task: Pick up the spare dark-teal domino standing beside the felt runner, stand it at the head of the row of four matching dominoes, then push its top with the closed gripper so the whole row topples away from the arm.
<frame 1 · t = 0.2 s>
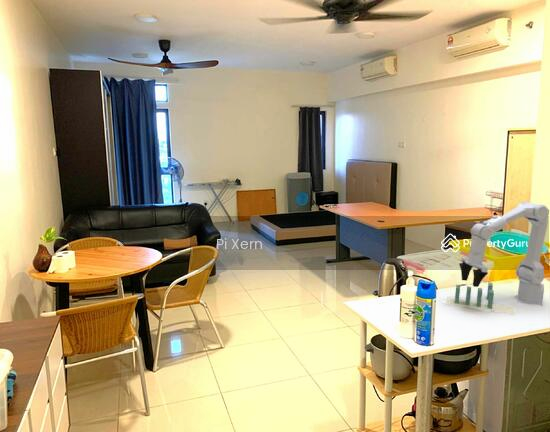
hand: (469, 283, 176), 10 cm above the table, tool pointing down, fingers open, 7 cm apart
tile 1: (489, 298, 186), on the table
tile 4: (467, 303, 180), resting on felt runner
felt runner: (479, 305, 179), on the table
tile 3: (478, 305, 179), resting on felt runner
tile 5: (456, 301, 182), resting on felt runner
tile 2: (489, 306, 177), resting on felt runner
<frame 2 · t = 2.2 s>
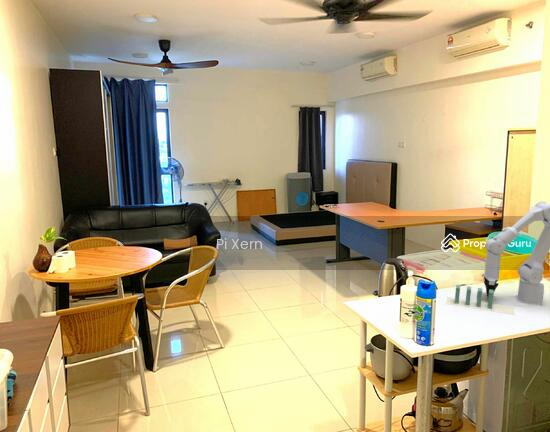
hand: (489, 295, 186), 2 cm above the table, tool pointing down, fingers closed on tile 1, 4 cm apart
tile 1: (489, 298, 186), on the table, touching gripper
everything else where it was.
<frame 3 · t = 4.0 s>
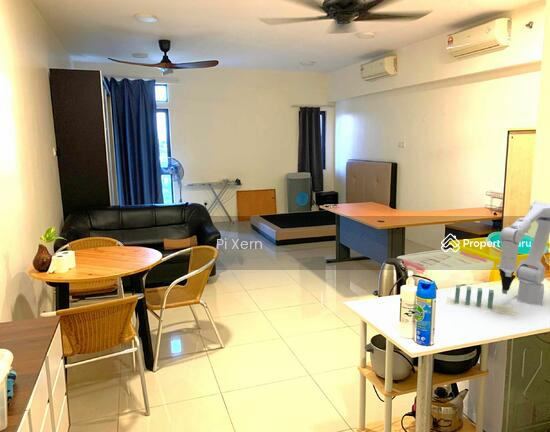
hand: (505, 288, 173), 9 cm above the table, tool pointing down, fingers closed on tile 1, 4 cm apart
tile 1: (504, 292, 173), point 8 cm above the table, touching gripper
everything else where it was.
when the fingers open (2 cm above the table, at t = 5.8 s): tile 1 stays where it is, resting on felt runner.
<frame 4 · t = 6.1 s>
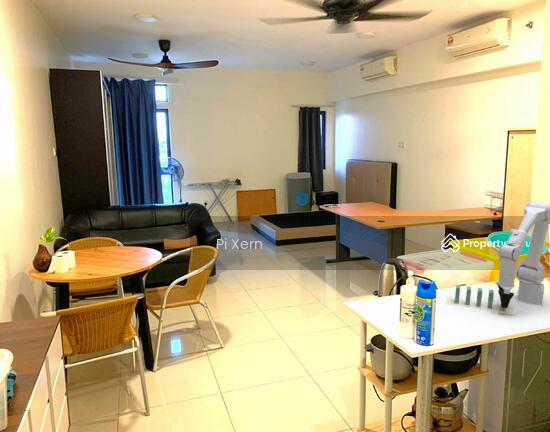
hand: (503, 304, 174), 2 cm above the table, tool pointing down, fingers open, 7 cm apart
tile 1: (502, 308, 175), resting on felt runner
everything else where it was.
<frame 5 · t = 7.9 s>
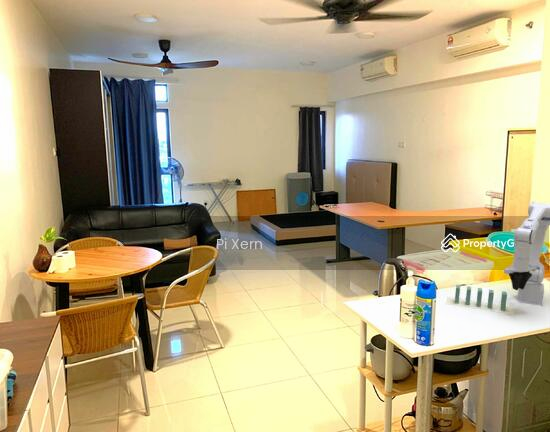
hand: (518, 289, 171), 10 cm above the table, tool pointing down, fingers closed
nothing on the table moved.
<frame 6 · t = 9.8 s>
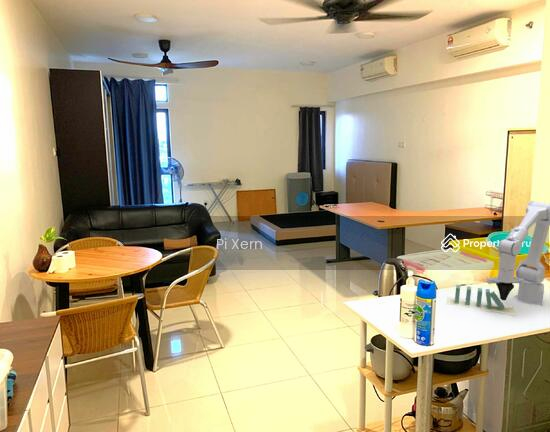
hand: (503, 299, 174), 4 cm above the table, tool pointing down, fingers closed
tile 1: (502, 307, 175), point 1 cm above the table, tilted 38°
tile 2: (489, 306, 177), resting on felt runner, tilted 12°
everything else where it was.
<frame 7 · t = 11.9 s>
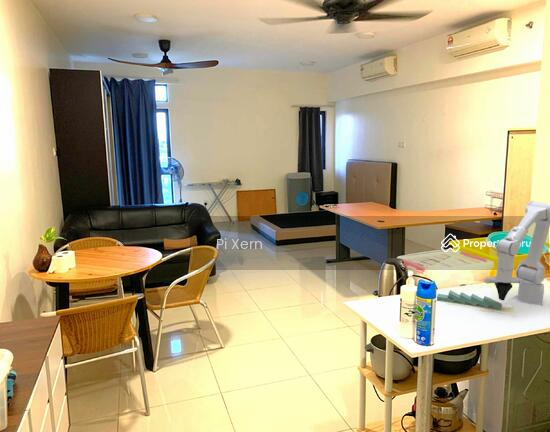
hand: (501, 299, 174), 4 cm above the table, tool pointing down, fingers closed
tile 1: (500, 306, 175), point 1 cm above the table, tilted 70°, touching felt runner, tile 2
tile 4: (464, 301, 181), point 1 cm above the table, tilted 68°, touching felt runner, tile 3, tile 5
tile 3: (476, 303, 179), point 1 cm above the table, tilted 69°, touching felt runner, tile 2, tile 4
tile 5: (454, 299, 182), point 1 cm above the table, tilted 90°, touching felt runner, tile 4
tile 2: (487, 304, 177), point 1 cm above the table, tilted 69°, touching felt runner, tile 1, tile 3
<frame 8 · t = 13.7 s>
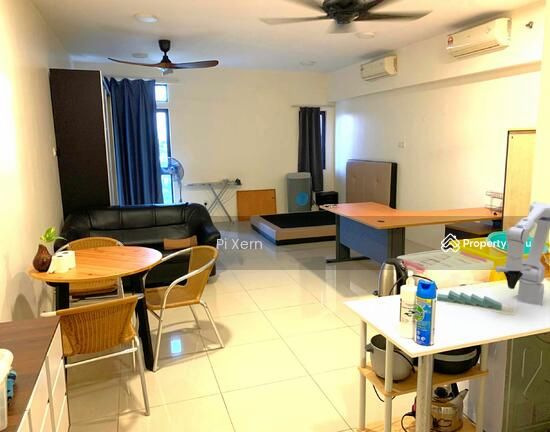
hand: (511, 288, 172), 10 cm above the table, tool pointing down, fingers closed
nothing on the table moved.
at the end: tile 5 tilted 90°; tile 1 tilted 70°; tile 1 inside the target area (0.4 cm from its centre), point 1.1 cm above the table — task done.
